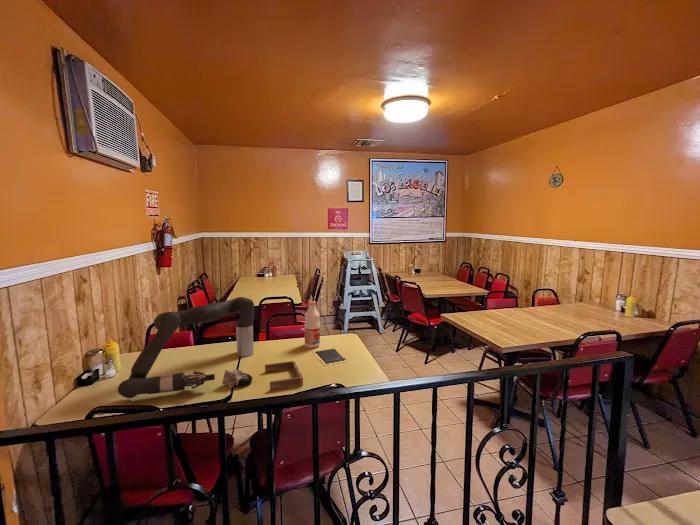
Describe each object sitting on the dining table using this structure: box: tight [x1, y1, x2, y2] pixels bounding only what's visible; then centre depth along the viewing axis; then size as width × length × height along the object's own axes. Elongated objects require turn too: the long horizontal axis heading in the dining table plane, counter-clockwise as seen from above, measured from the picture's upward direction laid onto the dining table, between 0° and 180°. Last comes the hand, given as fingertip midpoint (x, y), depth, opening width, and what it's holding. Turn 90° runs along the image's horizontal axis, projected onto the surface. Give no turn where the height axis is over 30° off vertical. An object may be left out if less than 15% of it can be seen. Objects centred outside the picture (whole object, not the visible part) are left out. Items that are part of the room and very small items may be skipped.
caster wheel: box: [221, 369, 253, 389], centre depth 164 cm, size 7×11×10 cm
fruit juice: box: [304, 300, 321, 349], centre depth 211 cm, size 9×9×28 cm
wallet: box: [314, 348, 346, 364], centre depth 196 cm, size 20×2×15 cm
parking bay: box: [264, 360, 304, 392], centre depth 169 cm, size 20×15×4 cm
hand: (214, 376), depth 158 cm, fingers closed
